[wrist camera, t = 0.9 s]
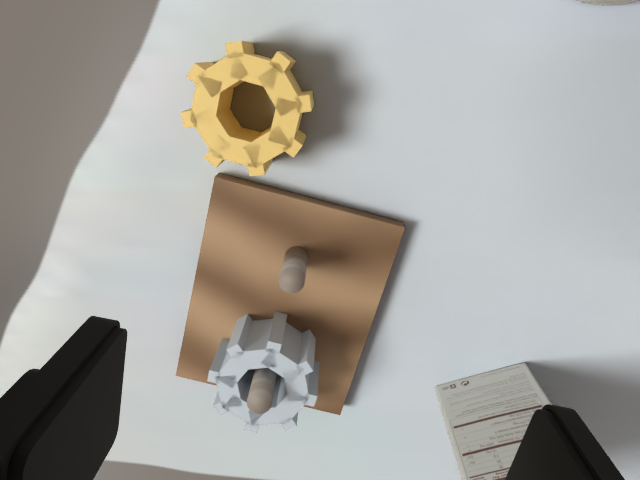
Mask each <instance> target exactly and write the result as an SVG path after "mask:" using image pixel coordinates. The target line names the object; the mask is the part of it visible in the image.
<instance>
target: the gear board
mask: <svg viewBox="0 0 640 480" xmlns="http://www.w3.org/2000/svg"><path fill="white" fill-rule="evenodd" d="M404 230H405V226H404V224H403V222H400V221H397V220H393V219H389V218H385V217H382V216H378V215H374V214H370V213H367V212H363V211H359V210H355V209H352V208H348V207H344V206H340V205H337V204H333V203H329V202H325V201H322V200H318V199H314V198H310V197H307V196H303V195H299V194H295V193H292V192H288V191H284V190H280V189H277V188H273V187H269V186H265V185H262V184H258V183H254V182H250V181H247V180H243V179H239V178H235V177H232V176H228V175H224V174H220V173H218V174H217V175H216V176H215V178H214V184H213V189H212V194H211V199H210V204H209V209H208V214H207V219H206V224H205V230H204V235H203V240H202V245H201V250H200V255H199V260H198V265H197V270H196V275H195V281H194V286H193V291H192V296H191V301H190V306H189V311H188V316H187V321H186V327H185V332H184V337H183V342H182V347H181V352H180V357H179V362H178V367H177V372H176V376H179V377H183V378H188V379H192V380H196V381H200V382H204V383H208V384H213V385H217V384H216V383H213V382H208V381H207V379H208V374H209V370H210V367H211V365H212V362H213V360H214V357H215V355H216V353H217V350H218V348H219V345H220V343H221V340H222V338H225V339H229V340H230V338H231V335H232V333H233V330H234V327H235V325H236V322H237V319H239V318H241V317H243V316H245V315H247V314H248V315H249V316H250V318H251V319H252V320H253V321H255V320H265V319H273V318H274V314H275V311H277V312H281V313H285V314H287V319H286V322H287V323H288V324H290V325H291V326H292V327H294V328H295V329H297V330H298V331H300V332H301V333H303V332H305V331H307V330H309V329H310V331H311V332H312V334H313V335H314V337H315V338H316V343H315V356H314V361H318V362H319V378H318V396H317V399H316V402H315V405H314V407H313V406H308V405H304V407H309V408H313V409H317V410H321V411H325V412H329V413H334V414H338V415H340V414H341V411H342V408H343V405H344V402H345V399H346V396H347V394H348V391H349V388H350V385H351V382H352V379H353V376H354V373H355V371H356V368H357V365H358V362H359V359H360V356H361V353H362V350H363V348H364V345H365V342H366V339H367V336H368V333H369V330H370V327H371V325H372V322H373V319H374V316H375V313H376V310H377V307H378V304H379V302H380V299H381V296H382V293H383V290H384V287H385V284H386V281H387V279H388V276H389V273H390V270H391V267H392V264H393V261H394V258H395V256H396V253H397V250H398V247H399V244H400V241H401V238H402V235H403V233H404ZM276 378H277V373H276V372H274V371H272V370H271V369H269V368H259V369H255V371H254V375H253V379H252V383H251V387H250V390H249V394H248V398H247V406H248V408H249V409H250V410H251V411H252V412H254V413H258V414H262V413H265V412H267V411H269V409H270V408H271V405H272V399H273V394H274V389H275V383H276Z"/></svg>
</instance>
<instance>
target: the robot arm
mask: <svg viewBox="0 0 640 480" xmlns="http://www.w3.org/2000/svg"><path fill="white" fill-rule="evenodd" d="M577 1H580V2H583V3H589V4H597V5H615V4H626V3H630V2H635V1H640V0H577ZM126 342H127V330H126V329H122V328H120V323H119V321H116V320H111V319H106V318H101V317H96V316H91V317H90V318H88V319H87V321H86V322H85V323H84V324H83V325H82V326H81V327H80V328H79V329H78V330H77V331H76V332H75V333H74V334H73V335H72V336H71V337H70V338H69V340H68V341H67V342H66V343H65V344H64V345H63V346H62V347H61V348H60V349H59V350H58V351H57V352H56V353H55V354H54V355H53V356H52V358H51V359H50V360H49V361H48V362H47V363H46V364H45V365H44V366H43V367H42V368H41V369H40V370H39V369H31V370H29V371H27V372H26V373H25V374H24V375H23V376H22V377H21V378H20V379H19V380H18V381H17V382H16V383H15V384H14V385H13V386H12V387H11V388H10V389H9V390H8V391H7V392H6V393H5V394H4V395H3V396H2V397H1V398H0V480H93V479H94V477H95V475H96V473H97V472H98V470H99V468H100V466H101V465H102V463H103V461H104V459H105V458H106V456H107V454H108V452H109V451H110V449H111V447H112V445H113V443H114V441H115V438H116V435H117V431H118V425H119V415H120V404H121V394H122V384H123V373H124V363H125V352H126ZM505 480H625V479H624V478H623V477H622V475H621V474H620V472H619V471H618V470H617V468H616V467H615V465H614V464H613V463H612V461H611V460H610V458H609V457H608V456H607V454H606V453H605V451H604V450H603V449H602V447H601V446H600V444H599V443H598V442H597V440H596V439H595V437H594V436H593V435H592V433H591V432H590V430H589V429H588V428H587V426H586V425H585V423H584V422H583V421H582V419H581V418H580V416H579V415H578V414H577V412H576V411H575V410H573V409H571V408H565V407H560V406H555V405H550V404H547V405H545V406H543V407H542V409H537V410H536V411H535V412H534V414H533V416H532V418H531V421H530V423H529V425H528V427H527V430H526V432H525V434H524V437H523V439H522V441H521V444H520V446H519V448H518V450H517V453H516V455H515V457H514V460H513V462H512V464H511V466H510V469H509V471H508V473H507V476H506V478H505Z"/></svg>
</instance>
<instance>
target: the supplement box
mask: <svg viewBox="0 0 640 480" xmlns="http://www.w3.org/2000/svg"><path fill="white" fill-rule="evenodd" d="M435 391H436V395H437V399H438V402H439V406H440V410H441V413H442V416H443V420H444V423H445V426H446V430H447V433H448V436H449V439H450V443H451V446H452V449H453V453H454V456H455V460H456V463H457V466H458V470H459V473H460V476H461V480H505V478H506V476H507V473H508V471H509V469H510V466H511V464H512V462H513V460H514V457H515V455H516V453H517V450H518V448H519V446H520V444H521V441H522V439H523V437H524V434H525V432H526V430H527V427H528V425H529V423H530V421H531V418H532V416H533V414H534V412H535V411H536V410H537V409H542V407H543V406H545V405H547V404H550V405H552V404H551V402H550V401H549V399H548V398H547V396H546V394H545V393H544V391H543V390H542V388H541V387H540V385H539V383H538V382H537V380H536V379H535V377H534V376H533V374H532V372H531V371H530V369H529V368H528V366H527V365H526V363H521V364H516V365H512V366H508V367H505V368H501V369H497V370H493V371H489V372H486V373H482V374H478V375H474V376H471V377H467V378H463V379H459V380H456V381H452V382H449V383H445V384H441V385H438V386H436V387H435Z"/></svg>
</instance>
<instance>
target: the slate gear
mask: <svg viewBox="0 0 640 480" xmlns="http://www.w3.org/2000/svg"><path fill="white" fill-rule="evenodd" d="M286 319H287V314H285V313H281V312H277V311H275V314H274V318H273V319H265V320H255V321H253V320H252V319H251V318H250V316H249V315H248V314H247V315H245V316H243V317H241V318H239V319H237V322H236V325H235V327H234V330H233V333H232V335H231V338H230V340H229V339H225V338H222V340H221V343H220V345H219V348H218V350H217V353H216V355H215V357H214V360H213V362H212V365H211V367H210V370H209V374H208V379H207V381H208V382H213V383H216V384H217V388H218V393H217V396H216V399H215V402H214V404H213V406H214V408H215V409H216V410H217V411H218V413H219V414H220V415H222V414H224V413H226V412H230V413H231V414H233V415H235V416H236V417H238V418H239V419H241V420H243V421H244V422H246V425H245V429H244V430H247V431H251V432H256V433H257V431H258V427H259V426H261V425H273V424H281V425H282V427H283V428H284V429H285V430H287V429H290V428H292V427H294V426H296V425H297V416H298V412H299V410H300V409H301V408H302V407H303V406H304V405H308V406H313V407H314V405H315V402H316V399H317V396H318V378H319V362H318V361H314V356H315V343H316V338H315V337H314V335H313V334H312V332H311V331H310V329H309V330H307V331H305V332H303V333H301V332H300V331H298V330H297V329H295V328H294V327H292V326H291V325H290V324H288V323H287V322H286ZM259 368H269V369H271V370H272V371H274V372H276V373H277V378H276V383H275V389H274V394H273V399H272V405H271V408H270V409H269V411H267V412H265V413H262V414H258V413H254V412H252V411H251V410H250V409H249V408H248V406H247V398H248V394H249V390H250V387H251V383H252V379H253V375H254V371H255V369H259Z"/></svg>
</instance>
